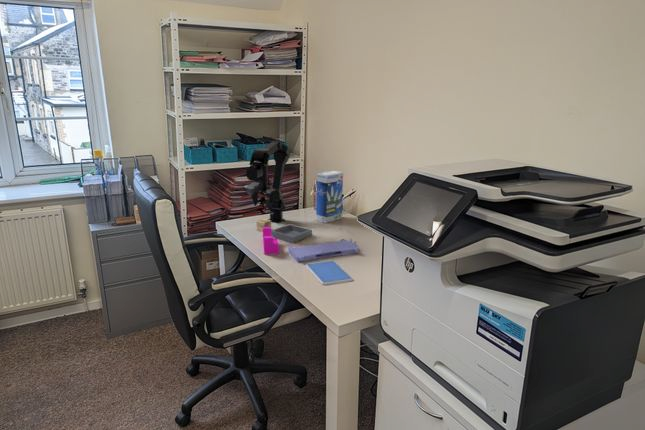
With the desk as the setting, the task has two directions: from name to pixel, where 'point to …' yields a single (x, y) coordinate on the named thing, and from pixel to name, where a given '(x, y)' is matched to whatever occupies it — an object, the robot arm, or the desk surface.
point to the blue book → (328, 272)
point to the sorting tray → (291, 233)
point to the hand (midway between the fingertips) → (262, 207)
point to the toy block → (269, 242)
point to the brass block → (263, 224)
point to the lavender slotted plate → (323, 250)
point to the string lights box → (329, 196)
